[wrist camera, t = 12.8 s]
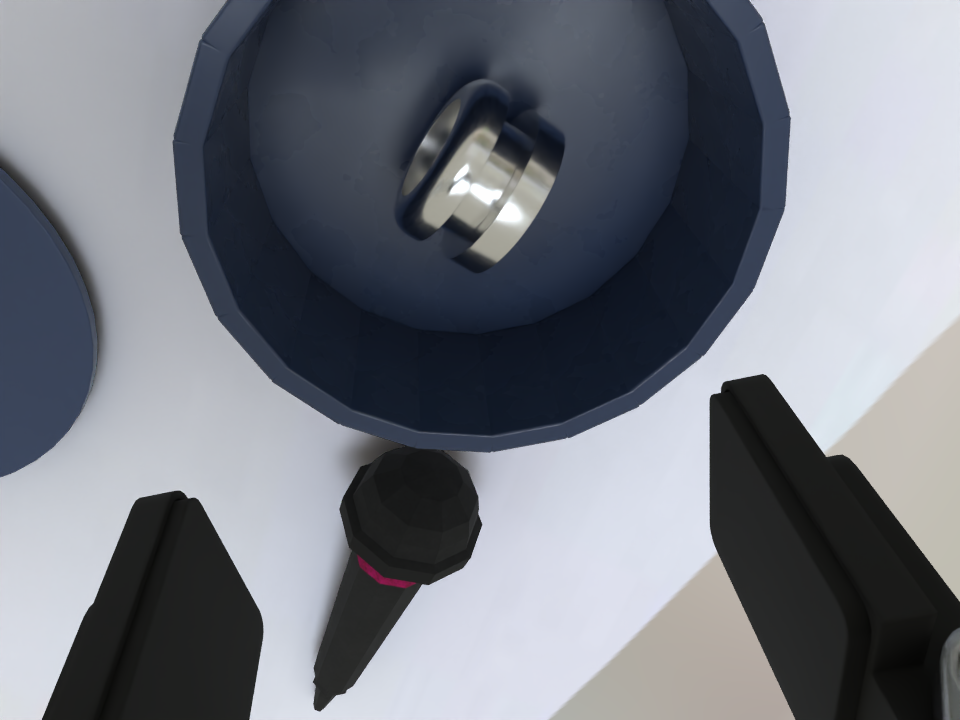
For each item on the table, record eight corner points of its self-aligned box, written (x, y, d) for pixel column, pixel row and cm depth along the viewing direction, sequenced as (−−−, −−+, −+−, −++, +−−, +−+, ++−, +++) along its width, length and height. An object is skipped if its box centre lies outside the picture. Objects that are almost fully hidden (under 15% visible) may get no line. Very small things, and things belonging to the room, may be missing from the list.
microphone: (356, 647, 43) (473, 414, 31) (379, 749, 40) (523, 529, 28) (259, 663, 41) (347, 415, 29) (275, 773, 37) (384, 542, 25)
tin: (312, 373, 29) (290, 490, 24) (145, -77, 20) (52, -54, 15) (705, 299, 29) (773, 401, 23) (703, -195, 20) (812, -214, 15)
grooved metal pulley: (461, 231, 26) (472, 302, 22) (386, 185, 25) (382, 252, 20) (550, 107, 24) (580, 160, 20) (472, 52, 23) (487, 95, 18)
